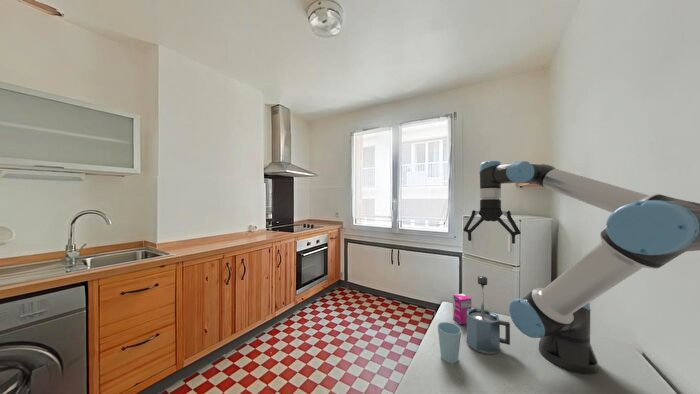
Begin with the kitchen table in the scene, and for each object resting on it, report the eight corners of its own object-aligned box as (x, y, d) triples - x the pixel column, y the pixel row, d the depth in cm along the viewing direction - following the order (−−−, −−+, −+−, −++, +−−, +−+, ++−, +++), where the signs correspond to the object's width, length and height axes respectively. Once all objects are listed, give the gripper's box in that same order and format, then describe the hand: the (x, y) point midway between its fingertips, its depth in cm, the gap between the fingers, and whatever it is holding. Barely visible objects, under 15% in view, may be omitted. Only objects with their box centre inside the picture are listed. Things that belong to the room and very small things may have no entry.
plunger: (494, 317, 90) (494, 275, 91) (496, 327, 83) (496, 282, 83) (469, 312, 94) (469, 272, 94) (470, 322, 86) (470, 279, 87)
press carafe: (507, 343, 89) (507, 313, 90) (512, 361, 80) (512, 327, 80) (466, 334, 95) (466, 306, 96) (466, 349, 86) (466, 318, 86)
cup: (466, 361, 79) (466, 330, 80) (450, 368, 76) (449, 336, 76) (448, 348, 86) (448, 320, 86) (433, 354, 83) (433, 324, 83)
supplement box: (452, 318, 108) (452, 294, 108) (463, 317, 109) (463, 293, 109) (460, 325, 102) (460, 299, 102) (472, 324, 103) (472, 298, 104)
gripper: (524, 199, 95) (524, 251, 95) (457, 199, 105) (457, 246, 105) (529, 198, 88) (530, 254, 88) (457, 198, 99) (457, 249, 98)
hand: (490, 250), depth 96 cm, fingers open, 13 cm apart
